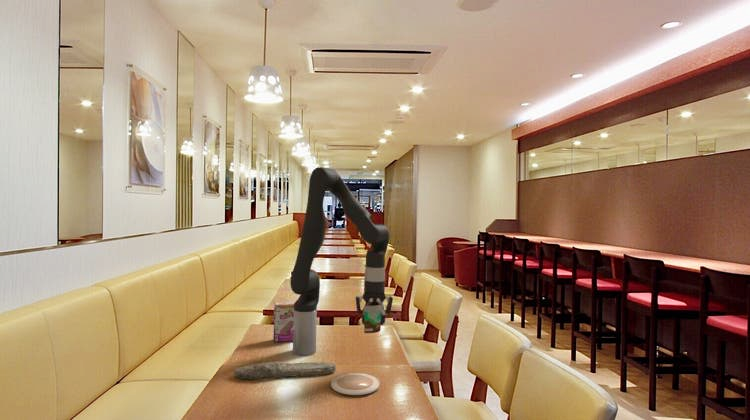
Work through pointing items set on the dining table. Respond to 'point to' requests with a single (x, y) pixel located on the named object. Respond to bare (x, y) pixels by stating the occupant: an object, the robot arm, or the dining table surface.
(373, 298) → the robot arm
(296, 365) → the elongated rock
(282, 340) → the candy bar box
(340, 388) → the dish
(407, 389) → the dining table surface
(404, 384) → the dining table surface
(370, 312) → the food container
